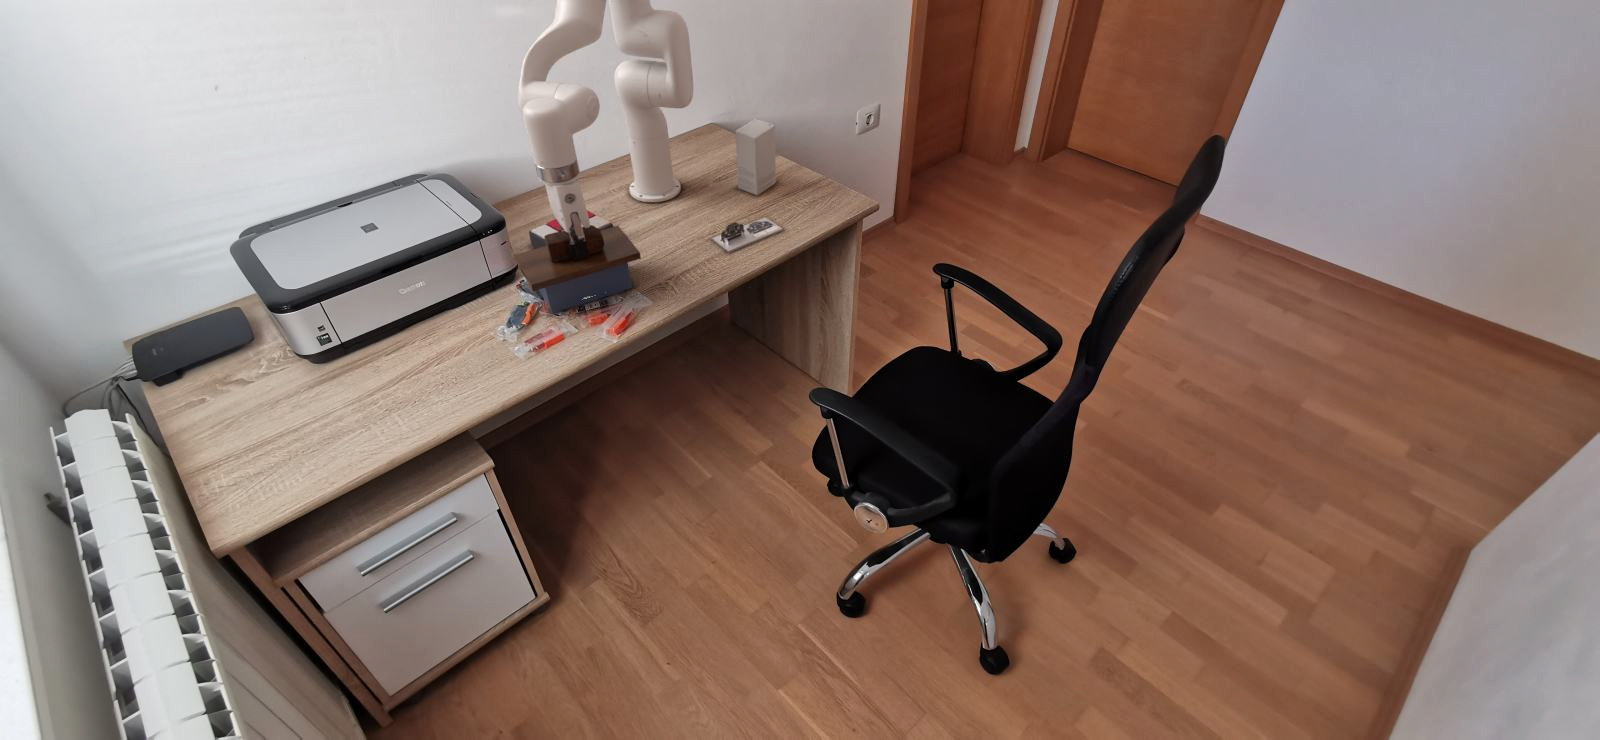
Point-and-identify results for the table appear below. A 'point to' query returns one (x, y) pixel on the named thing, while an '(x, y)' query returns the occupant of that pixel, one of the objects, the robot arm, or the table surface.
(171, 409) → the table surface
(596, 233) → the brick
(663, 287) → the table surface
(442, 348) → the table surface
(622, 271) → the blue box
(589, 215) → the button pad
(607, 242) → the board
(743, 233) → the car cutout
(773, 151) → the cosmetic box
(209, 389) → the table surface
